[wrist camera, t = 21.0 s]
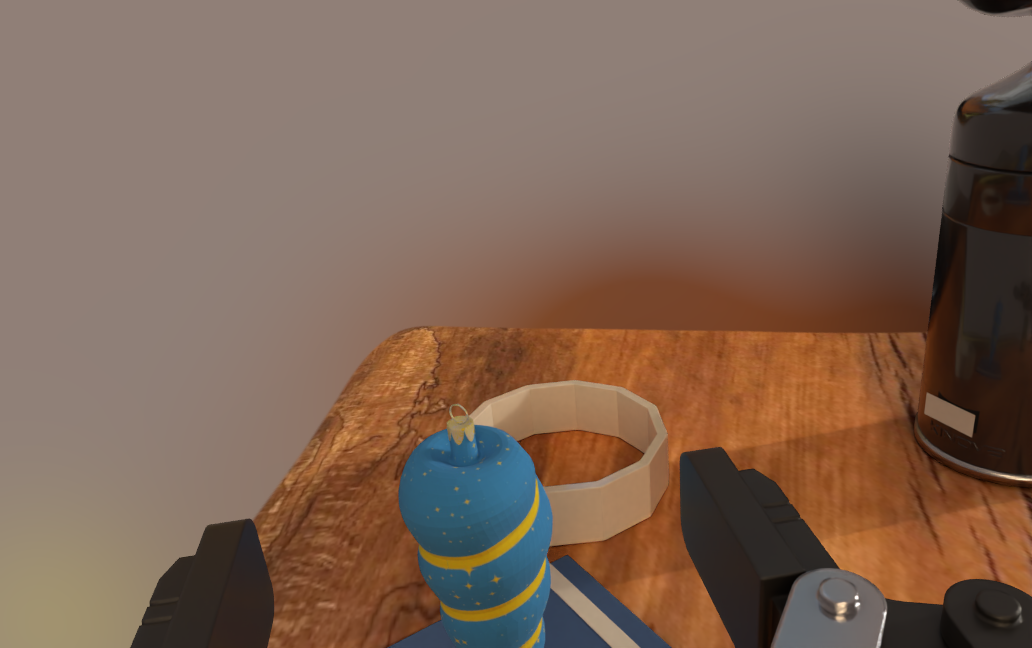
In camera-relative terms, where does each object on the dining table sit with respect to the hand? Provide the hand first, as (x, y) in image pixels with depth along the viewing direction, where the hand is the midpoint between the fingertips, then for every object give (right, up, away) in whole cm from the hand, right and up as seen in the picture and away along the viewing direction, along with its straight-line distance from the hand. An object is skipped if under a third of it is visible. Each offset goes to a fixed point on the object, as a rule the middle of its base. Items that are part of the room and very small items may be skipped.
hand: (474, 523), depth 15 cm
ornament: (0, -13, +17) cm, 22 cm away
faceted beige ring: (+4, -6, +33) cm, 34 cm away
